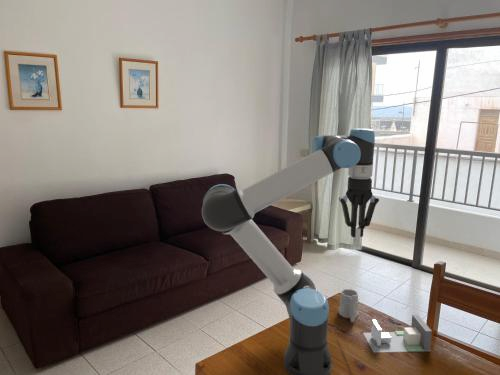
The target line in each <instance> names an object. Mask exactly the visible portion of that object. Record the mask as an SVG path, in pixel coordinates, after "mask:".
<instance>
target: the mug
mask: <svg viewBox="0 0 500 375" xmlns="http://www.w3.org/2000/svg"><path fill="white" fill-rule="evenodd" d="M359 303H360V302H359V293H358V292H357V290H354V289H352V288H351V289H350V288H349V289H348V288H346V289H342V290H341V292H340V297H339V308H338V311H337V312H338V314H339V315H340V316H341V317H343V318H346V319H350V323H355V320H356V318H357V317H359V315H360V314H359Z"/></svg>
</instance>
